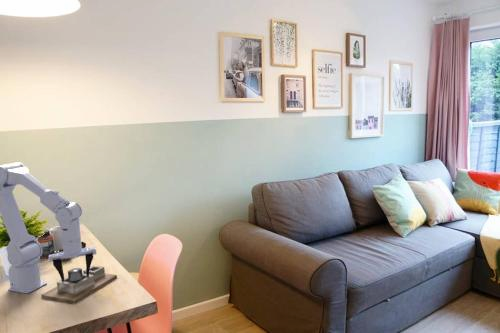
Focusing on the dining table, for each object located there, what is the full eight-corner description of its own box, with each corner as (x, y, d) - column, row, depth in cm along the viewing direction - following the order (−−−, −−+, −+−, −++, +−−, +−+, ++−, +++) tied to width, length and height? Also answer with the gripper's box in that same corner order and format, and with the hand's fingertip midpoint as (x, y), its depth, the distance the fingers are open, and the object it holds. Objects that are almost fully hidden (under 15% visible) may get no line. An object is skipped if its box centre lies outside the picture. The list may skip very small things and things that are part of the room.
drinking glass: (71, 248, 171) (69, 227, 169) (57, 253, 165) (55, 231, 164) (63, 246, 174) (61, 225, 173) (49, 250, 169) (46, 229, 167)
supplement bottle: (43, 254, 165) (40, 229, 163) (57, 253, 165) (54, 228, 164) (36, 259, 159) (33, 233, 157) (51, 258, 159) (48, 232, 158)
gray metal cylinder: (66, 288, 128) (64, 272, 127) (77, 283, 131) (75, 267, 131) (75, 291, 126) (74, 274, 125) (86, 285, 130) (84, 269, 129)
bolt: (85, 252, 170) (65, 264, 156) (76, 247, 171) (55, 258, 156) (90, 241, 170) (71, 252, 155) (81, 236, 170) (60, 246, 155)
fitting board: (41, 297, 124) (40, 286, 123) (86, 273, 142) (86, 263, 142) (74, 303, 119) (73, 291, 119) (116, 277, 138) (116, 267, 137)
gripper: (46, 246, 120) (51, 286, 122) (95, 239, 126) (98, 277, 128) (48, 240, 126) (52, 278, 128) (94, 233, 132) (97, 270, 134)
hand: (75, 277), depth 128 cm, fingers open, 7 cm apart
